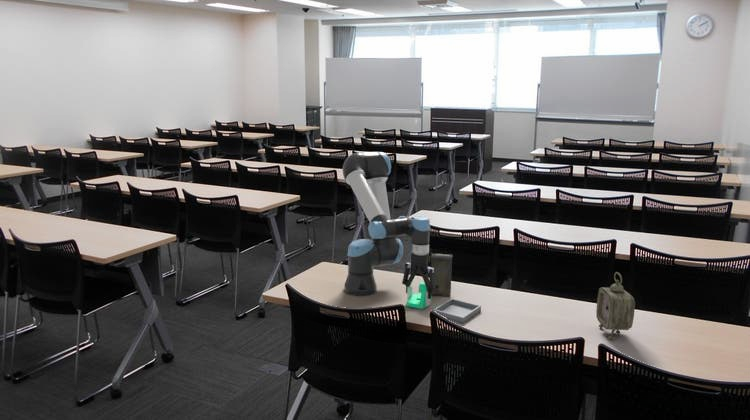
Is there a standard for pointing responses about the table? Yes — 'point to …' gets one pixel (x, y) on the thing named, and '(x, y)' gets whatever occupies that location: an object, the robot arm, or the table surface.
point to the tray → (458, 310)
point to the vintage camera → (442, 274)
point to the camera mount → (418, 298)
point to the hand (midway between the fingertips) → (418, 302)
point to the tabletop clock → (615, 308)
